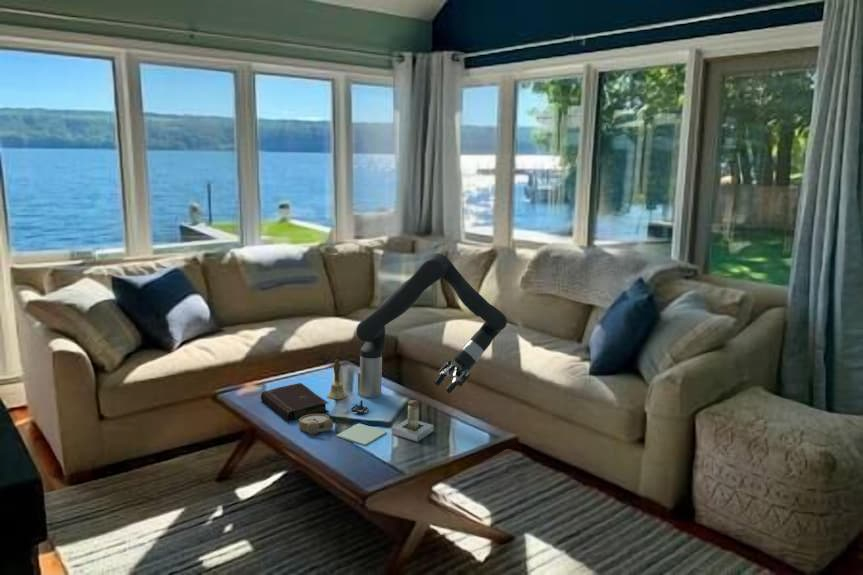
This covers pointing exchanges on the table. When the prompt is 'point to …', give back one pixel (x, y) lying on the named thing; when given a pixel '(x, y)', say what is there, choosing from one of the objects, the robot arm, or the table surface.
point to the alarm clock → (315, 423)
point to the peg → (413, 415)
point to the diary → (294, 401)
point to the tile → (361, 434)
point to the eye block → (410, 434)
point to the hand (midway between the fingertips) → (441, 387)
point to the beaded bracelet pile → (359, 408)
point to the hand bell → (336, 385)
